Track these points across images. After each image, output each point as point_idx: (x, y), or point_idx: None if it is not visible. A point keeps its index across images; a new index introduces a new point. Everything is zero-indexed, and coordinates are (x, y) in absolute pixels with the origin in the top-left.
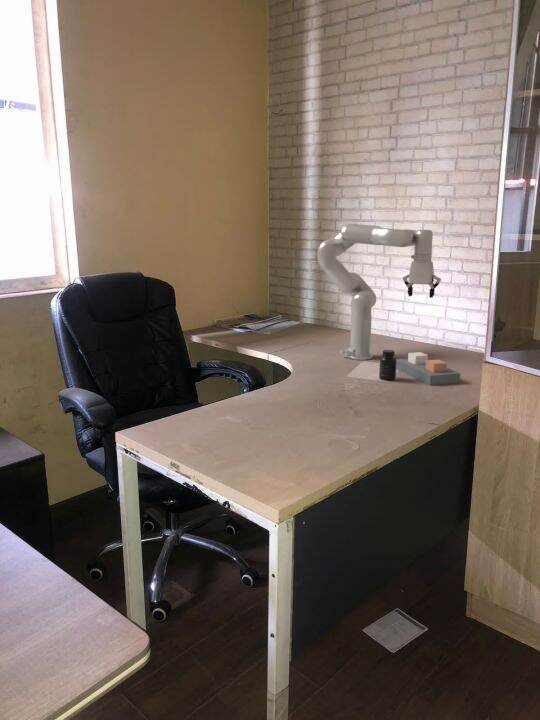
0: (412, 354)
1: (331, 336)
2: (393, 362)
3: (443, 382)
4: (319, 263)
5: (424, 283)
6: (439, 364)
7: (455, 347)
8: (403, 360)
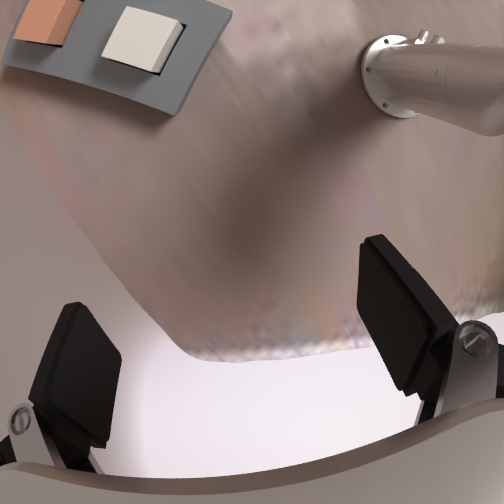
0: (150, 13)
1: (500, 240)
2: None
3: None
4: None
5: (53, 484)
6: (25, 12)
7: (247, 356)
8: (198, 19)
